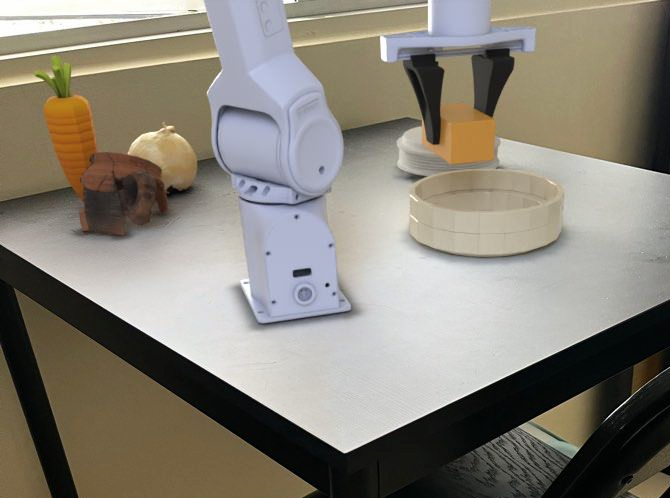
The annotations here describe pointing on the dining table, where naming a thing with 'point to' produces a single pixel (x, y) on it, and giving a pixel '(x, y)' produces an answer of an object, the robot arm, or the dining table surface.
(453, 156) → the orange rectangular block
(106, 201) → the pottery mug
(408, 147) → the lid
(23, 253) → the dining table surface
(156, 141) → the onion
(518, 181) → the bowl
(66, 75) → the carrot
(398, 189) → the dining table surface
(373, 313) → the dining table surface
